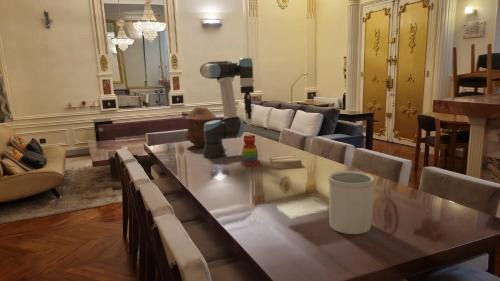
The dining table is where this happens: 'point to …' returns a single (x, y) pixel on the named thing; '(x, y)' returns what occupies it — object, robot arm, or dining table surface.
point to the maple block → (285, 161)
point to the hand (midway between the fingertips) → (248, 122)
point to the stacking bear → (250, 152)
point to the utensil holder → (350, 201)
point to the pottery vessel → (198, 125)
